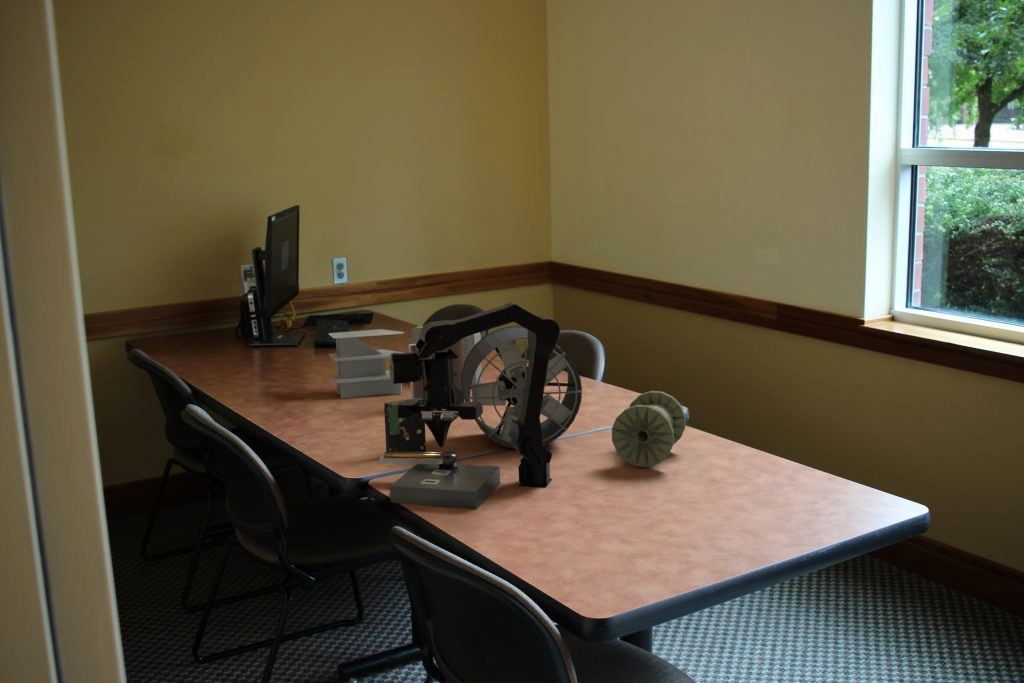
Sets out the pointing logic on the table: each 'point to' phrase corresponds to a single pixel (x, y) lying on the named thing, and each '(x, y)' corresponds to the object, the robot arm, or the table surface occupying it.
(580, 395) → the ventilation fan
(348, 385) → the file organizer
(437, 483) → the grey flat block
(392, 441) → the disk drive
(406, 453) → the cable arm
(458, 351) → the picture frame
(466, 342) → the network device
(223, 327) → the table surface
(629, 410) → the spool
